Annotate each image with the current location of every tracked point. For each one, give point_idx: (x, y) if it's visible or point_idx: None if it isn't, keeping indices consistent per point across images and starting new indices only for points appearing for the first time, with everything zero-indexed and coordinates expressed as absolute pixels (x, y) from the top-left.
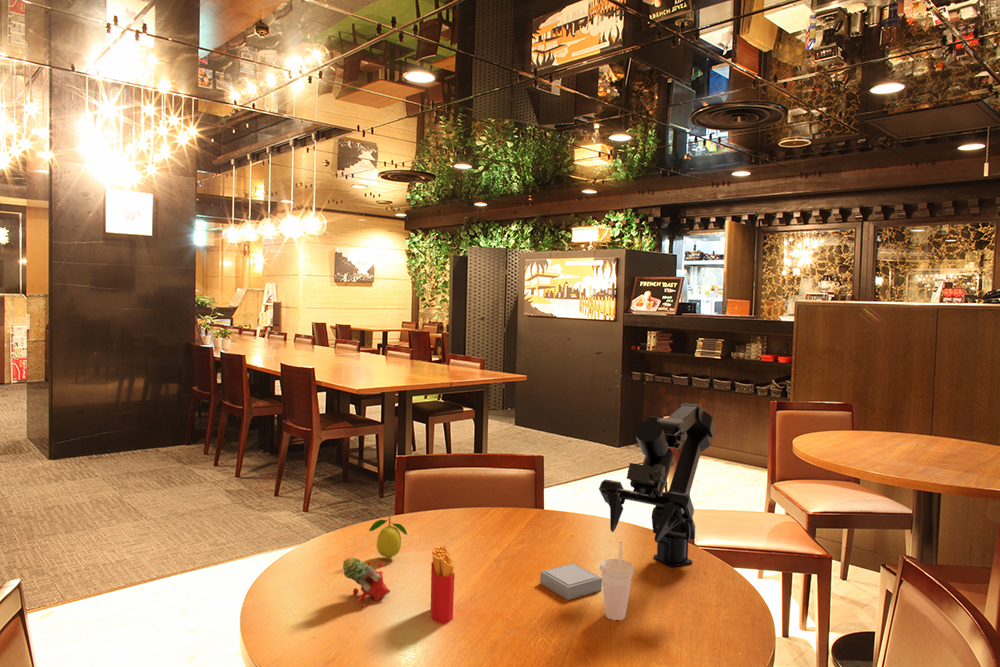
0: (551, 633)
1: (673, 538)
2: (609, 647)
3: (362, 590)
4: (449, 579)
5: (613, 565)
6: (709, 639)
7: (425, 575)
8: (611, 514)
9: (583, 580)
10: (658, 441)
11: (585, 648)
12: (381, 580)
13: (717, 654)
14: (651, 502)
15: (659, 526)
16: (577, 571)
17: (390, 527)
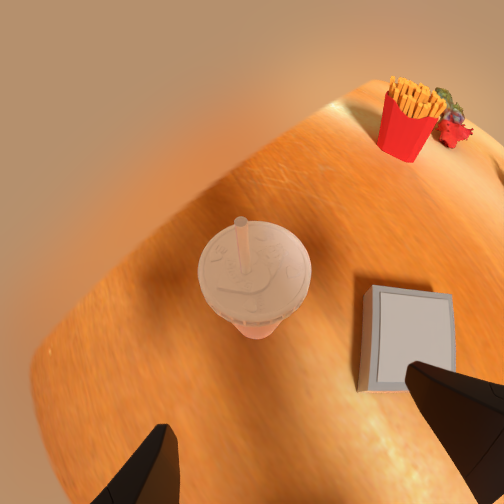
0: (287, 195)
1: None
2: (199, 225)
3: (447, 130)
4: (385, 97)
5: (256, 249)
6: (87, 364)
7: (486, 199)
8: (476, 382)
9: (381, 337)
10: None
11: (224, 200)
12: (443, 122)
13: (69, 325)
14: None
15: (140, 475)
16: (421, 361)
17: None
